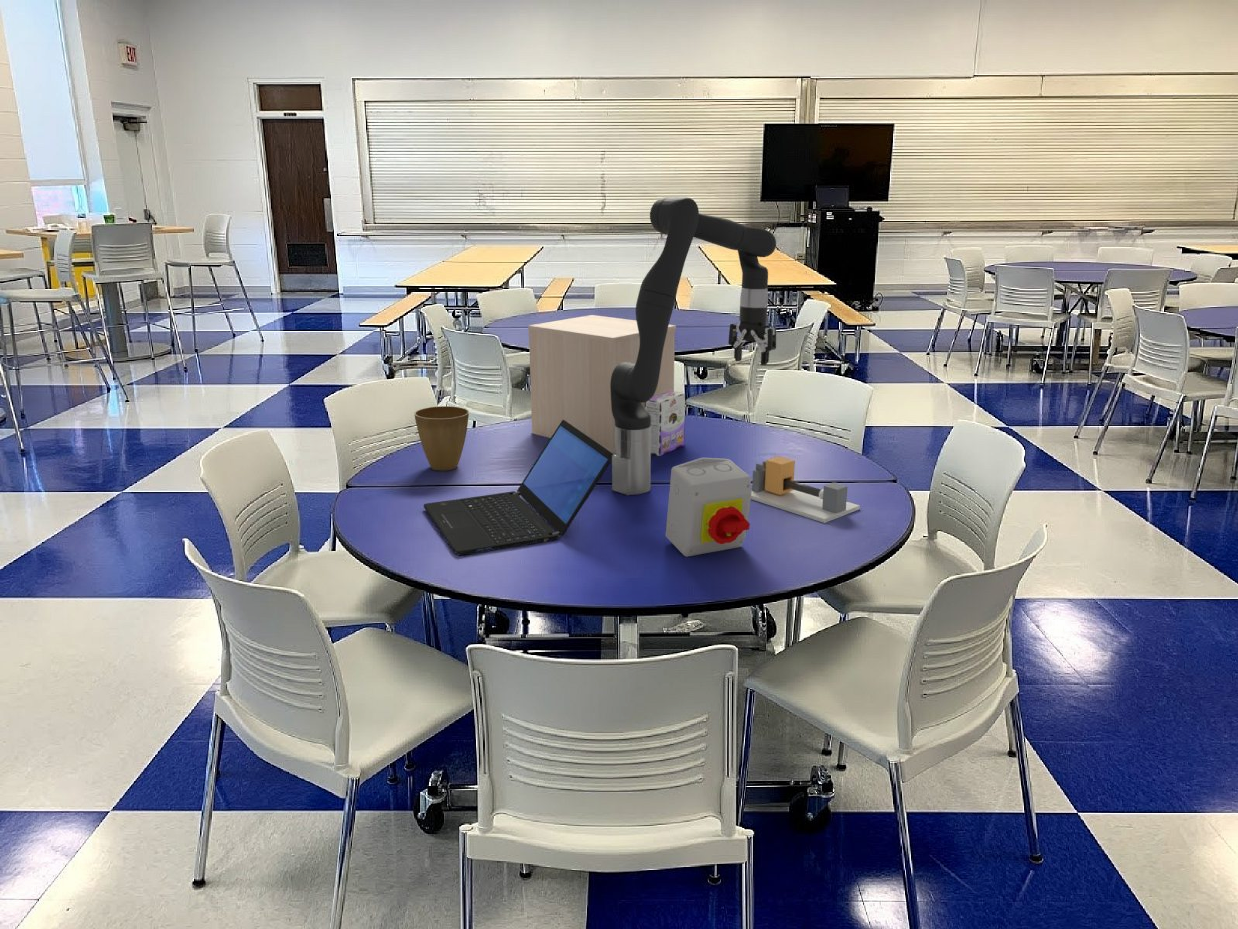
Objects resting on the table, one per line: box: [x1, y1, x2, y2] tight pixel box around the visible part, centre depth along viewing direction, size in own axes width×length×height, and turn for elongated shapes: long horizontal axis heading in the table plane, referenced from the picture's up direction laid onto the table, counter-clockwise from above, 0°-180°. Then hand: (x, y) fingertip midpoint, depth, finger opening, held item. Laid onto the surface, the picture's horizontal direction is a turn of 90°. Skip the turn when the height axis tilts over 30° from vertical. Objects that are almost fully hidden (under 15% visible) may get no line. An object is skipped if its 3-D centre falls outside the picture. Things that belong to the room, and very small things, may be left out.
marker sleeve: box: [765, 455, 796, 495], centre depth 239 cm, size 5×5×8 cm
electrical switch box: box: [665, 457, 752, 558], centre depth 203 cm, size 15×15×20 cm
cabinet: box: [527, 314, 677, 455], centre depth 294 cm, size 35×29×34 cm
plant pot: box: [413, 405, 470, 471], centre depth 263 cm, size 15×15×16 cm
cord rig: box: [751, 460, 861, 524], centre depth 234 cm, size 25×14×8 cm, turn 42°
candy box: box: [645, 391, 686, 457], centre depth 279 cm, size 14×6×16 cm, turn 144°
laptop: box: [423, 420, 614, 556], centre depth 222 cm, size 33×38×19 cm
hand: (751, 362), depth 264 cm, fingers open, 8 cm apart
